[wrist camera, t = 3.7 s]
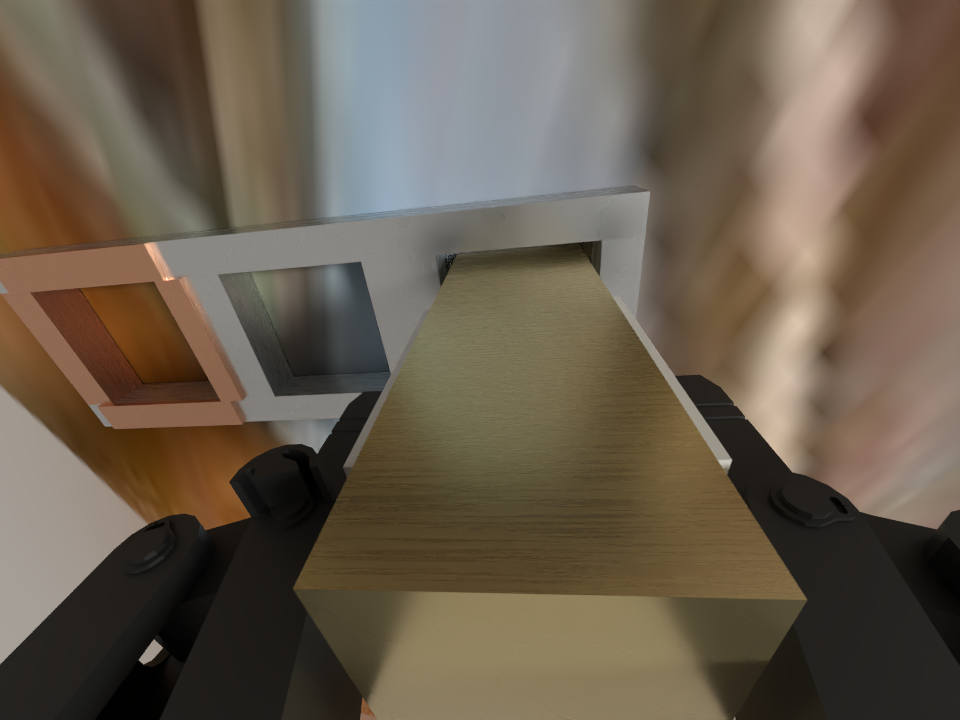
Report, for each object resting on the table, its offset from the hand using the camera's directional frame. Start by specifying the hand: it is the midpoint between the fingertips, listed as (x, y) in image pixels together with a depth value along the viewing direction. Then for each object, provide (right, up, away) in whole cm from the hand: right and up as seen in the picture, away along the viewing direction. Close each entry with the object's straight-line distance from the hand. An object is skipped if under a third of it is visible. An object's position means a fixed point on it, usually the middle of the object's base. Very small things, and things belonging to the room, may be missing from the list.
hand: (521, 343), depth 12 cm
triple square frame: (-8, +1, +4) cm, 9 cm away
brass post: (0, +2, +3) cm, 3 cm away
